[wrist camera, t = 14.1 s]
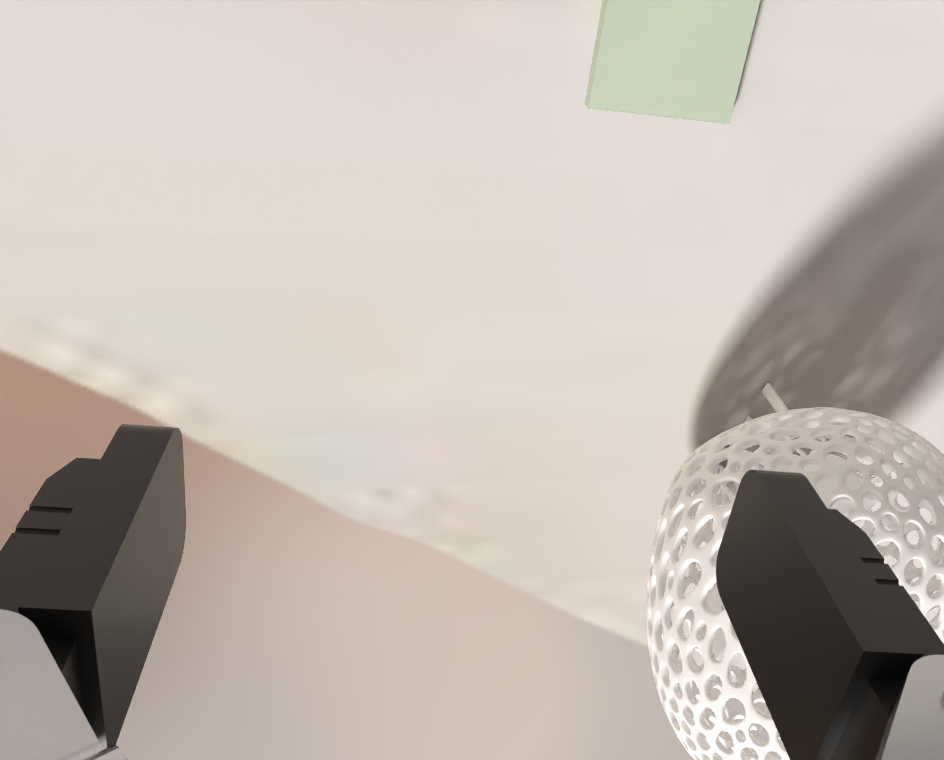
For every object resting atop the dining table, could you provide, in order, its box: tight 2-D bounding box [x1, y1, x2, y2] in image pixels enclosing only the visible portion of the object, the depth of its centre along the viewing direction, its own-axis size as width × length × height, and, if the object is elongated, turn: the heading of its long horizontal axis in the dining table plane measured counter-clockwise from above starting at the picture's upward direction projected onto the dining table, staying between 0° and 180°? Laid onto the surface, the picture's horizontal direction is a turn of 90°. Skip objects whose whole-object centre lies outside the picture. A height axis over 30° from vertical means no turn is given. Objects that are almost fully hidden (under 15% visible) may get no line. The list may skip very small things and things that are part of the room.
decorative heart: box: [647, 383, 944, 760], centre depth 42 cm, size 18×11×17 cm, turn 156°
